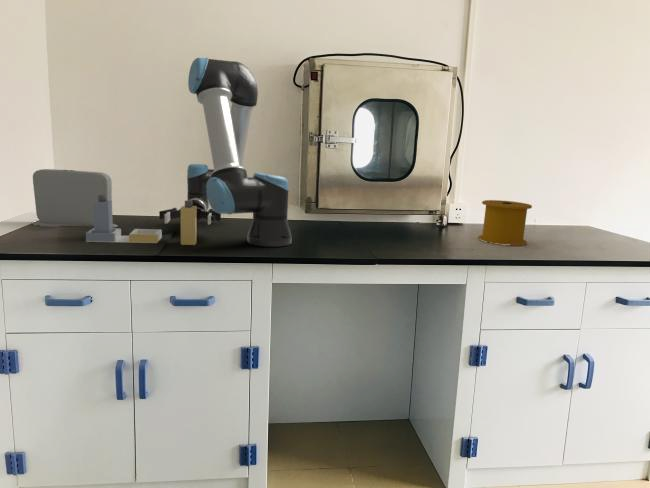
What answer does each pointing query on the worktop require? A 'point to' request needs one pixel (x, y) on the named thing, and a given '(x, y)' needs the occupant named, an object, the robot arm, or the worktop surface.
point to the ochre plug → (188, 224)
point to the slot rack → (133, 237)
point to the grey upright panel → (68, 196)
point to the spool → (504, 222)
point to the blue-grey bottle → (103, 215)
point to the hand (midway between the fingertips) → (187, 219)
